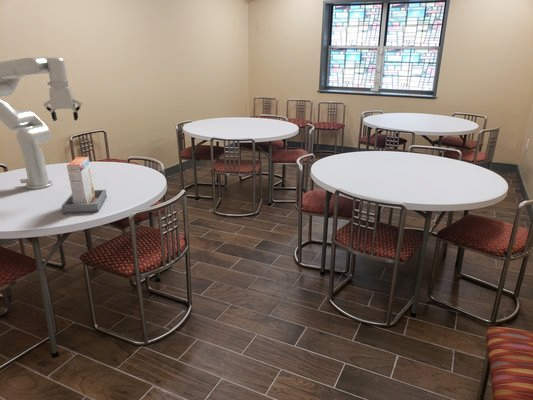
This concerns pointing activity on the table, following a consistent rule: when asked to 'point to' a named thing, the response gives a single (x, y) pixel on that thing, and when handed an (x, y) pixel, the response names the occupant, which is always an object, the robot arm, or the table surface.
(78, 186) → the cracker box
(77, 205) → the tray
